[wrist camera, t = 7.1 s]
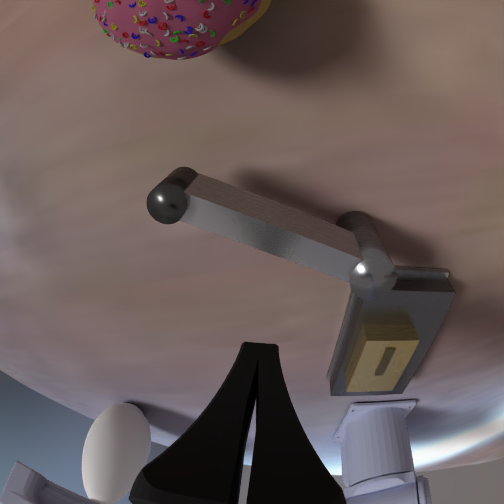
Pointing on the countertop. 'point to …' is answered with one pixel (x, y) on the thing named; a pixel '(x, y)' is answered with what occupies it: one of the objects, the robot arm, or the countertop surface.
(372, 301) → the grey rectangular plate
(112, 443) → the sauce bottle
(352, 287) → the lever
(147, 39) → the cupcake
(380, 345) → the yellow slotted box
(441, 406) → the countertop surface
